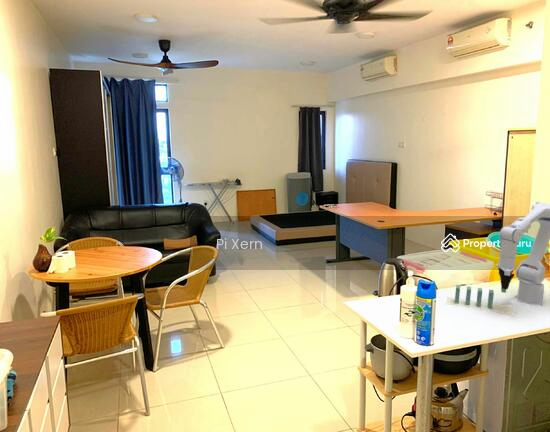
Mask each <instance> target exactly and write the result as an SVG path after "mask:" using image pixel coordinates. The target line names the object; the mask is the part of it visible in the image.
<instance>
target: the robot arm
mask: <svg viewBox="0 0 550 432" xmlns="http://www.w3.org/2000/svg"><path fill="white" fill-rule="evenodd" d="M534 222H537V223H539V225H540V226H539V227H538V230H537V233H536V236H535V239H534V241H533V243H532V247H531V249H530V252H529V255H528V257H527V258H524V259H523V260H521V261H520V262H519V265H518V266H517V267H516V266H515V265H516V260H517V259H516V258H517V251H518V250H517V249H518V243H519V242H520V241H521V239H522V237H523V236H524V234H525V233H526V232H528V231H529V230H530V229H531V227H532V225H531V224H533V223H534ZM498 237H499V239H500V240H499V244H500V245H501V246H500V250H499V252H500V253H499V254H500V255H499V262H498V263H496V264H495V267H496V268H497V269H498V275H499V277H500V286H501V287H502V289H506V290H508V289H509V287H510V283H511V282H512V280H513V278H514V277H515V276H516V278H517V280H518V283H519V284H518V289H517V291H518V292H517V295H515V298H516V301H517V302H518V303H522V304H523V303H524V304H531V305H536V306H537V305H538V306H542V307H543V299H544V295H545V294H544V293H545V285H544V283H543V282H544V280H545V277H546V270H547V269H546V267H545V266H544V264H543V263H542V262H543V261H542V260H543V258H544V256H545V253H546V250H547V248H548V245H549V242H550V203H546V202H541V201H536V202H535V203H533V204H532V205H531V210H530V211H529V212H528V213H527V214H526V215H525V216H524V217H519V218H517V219H516V220H515V221H513V222H512V223H511V224H510V225H508V226H504V227H502V228H501V229H500V231H499V233H498ZM515 269H516V270H515ZM514 271H515V273H513V272H514ZM501 287H500V288H501Z"/></svg>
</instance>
